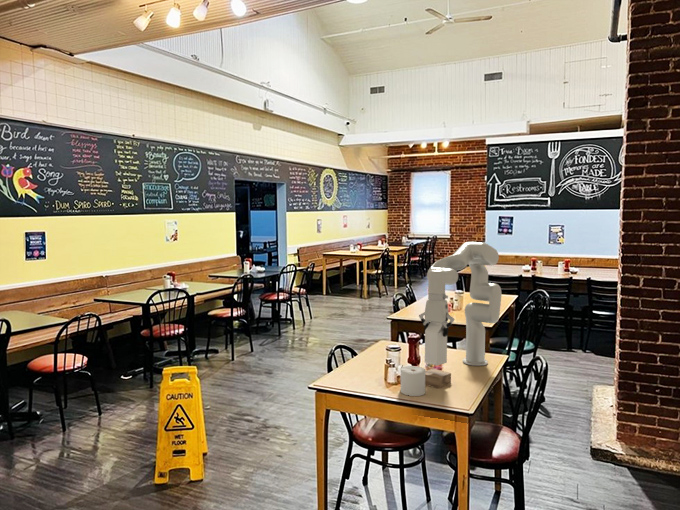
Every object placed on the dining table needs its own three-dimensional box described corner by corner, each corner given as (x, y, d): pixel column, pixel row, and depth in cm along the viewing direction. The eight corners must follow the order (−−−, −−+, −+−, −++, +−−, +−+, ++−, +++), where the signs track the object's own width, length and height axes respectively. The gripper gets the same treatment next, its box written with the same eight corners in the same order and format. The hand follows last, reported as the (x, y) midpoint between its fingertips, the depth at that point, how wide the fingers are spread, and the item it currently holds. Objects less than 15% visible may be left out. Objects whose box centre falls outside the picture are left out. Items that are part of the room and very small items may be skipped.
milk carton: (436, 366, 222) (437, 324, 221) (424, 362, 228) (425, 321, 226) (446, 363, 227) (447, 322, 225) (434, 359, 232) (435, 319, 231)
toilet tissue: (420, 398, 209) (420, 375, 208) (394, 393, 215) (394, 370, 214) (428, 390, 218) (429, 368, 218) (403, 386, 224) (403, 364, 223)
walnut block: (432, 378, 235) (432, 368, 235) (450, 383, 228) (451, 373, 228) (420, 383, 228) (420, 373, 227) (438, 389, 221) (438, 378, 220)
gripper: (458, 297, 223) (457, 335, 224) (422, 294, 233) (422, 330, 234) (451, 300, 217) (451, 339, 218) (415, 296, 227) (415, 333, 228)
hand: (436, 334), depth 226 cm, fingers closed on milk carton, 8 cm apart
